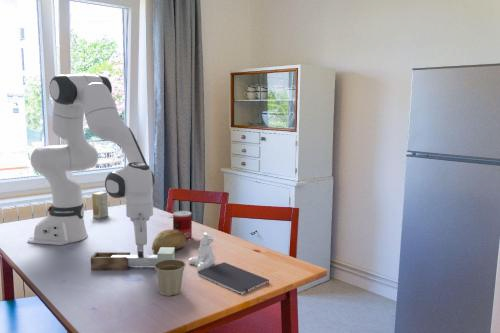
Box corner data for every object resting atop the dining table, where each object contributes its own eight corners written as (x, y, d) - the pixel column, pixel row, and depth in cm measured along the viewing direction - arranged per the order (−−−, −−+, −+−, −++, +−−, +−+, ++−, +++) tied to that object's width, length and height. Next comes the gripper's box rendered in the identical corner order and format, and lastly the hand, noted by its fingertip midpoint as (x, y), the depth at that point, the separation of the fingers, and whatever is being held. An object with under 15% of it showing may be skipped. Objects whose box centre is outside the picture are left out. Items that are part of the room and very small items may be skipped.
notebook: (268, 284, 138) (224, 266, 152) (269, 279, 138) (224, 262, 152) (241, 296, 129) (196, 276, 143) (241, 291, 129) (196, 271, 143)
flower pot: (156, 285, 134) (156, 259, 133) (186, 284, 135) (186, 258, 134) (152, 298, 125) (151, 270, 124) (184, 298, 126) (184, 270, 125)
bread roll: (193, 248, 169) (193, 228, 168) (162, 258, 158) (162, 237, 157) (177, 242, 175) (177, 223, 174) (147, 251, 164) (146, 231, 163)
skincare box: (101, 214, 215) (100, 190, 213) (108, 215, 213) (107, 191, 211) (92, 217, 209) (91, 193, 207) (99, 218, 207) (98, 194, 205)
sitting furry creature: (187, 263, 153) (186, 231, 151) (208, 258, 158) (208, 227, 156) (198, 272, 145) (198, 238, 143) (220, 267, 150) (221, 234, 148)
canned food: (193, 235, 184) (193, 211, 182) (189, 241, 176) (189, 216, 174) (176, 235, 185) (176, 210, 183) (171, 240, 177) (170, 215, 175)
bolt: (110, 266, 146) (109, 241, 145) (112, 263, 149) (111, 238, 148) (157, 266, 147) (157, 241, 146) (158, 263, 150) (158, 238, 149)
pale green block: (157, 271, 145) (157, 253, 145) (160, 263, 152) (160, 247, 151) (172, 271, 146) (172, 253, 145) (174, 263, 152) (174, 247, 151)
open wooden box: (91, 270, 145) (90, 257, 144) (96, 264, 150) (95, 252, 150) (126, 270, 146) (126, 257, 145) (130, 264, 151) (130, 252, 150)
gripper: (151, 217, 136) (151, 259, 138) (147, 202, 156) (148, 239, 158) (130, 219, 134) (131, 260, 137) (129, 203, 154) (130, 240, 156)
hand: (140, 249), depth 147 cm, fingers closed on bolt, 2 cm apart
